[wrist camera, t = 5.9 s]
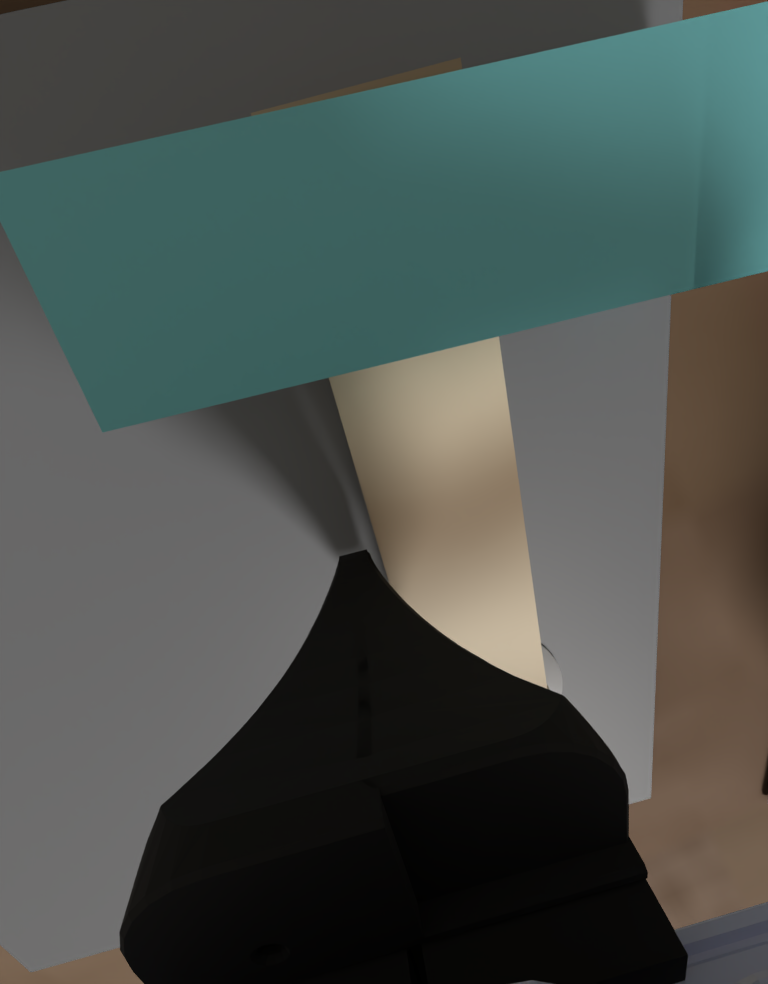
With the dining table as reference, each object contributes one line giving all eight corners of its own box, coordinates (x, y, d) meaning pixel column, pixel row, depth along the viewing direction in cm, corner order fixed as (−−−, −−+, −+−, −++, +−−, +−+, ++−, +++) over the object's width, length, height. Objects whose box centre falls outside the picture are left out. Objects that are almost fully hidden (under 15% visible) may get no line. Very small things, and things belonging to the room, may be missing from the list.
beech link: (551, 733, 16) (597, 820, 13) (424, 771, 16) (445, 866, 13) (463, 100, 9) (527, 23, 6) (227, 163, 8) (191, 112, 6)
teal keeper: (623, 114, 10) (870, -22, 6) (623, 267, 11) (824, 256, 7) (133, 226, 10) (-23, 175, 5) (189, 372, 11) (101, 432, 6)
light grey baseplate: (650, -89, 9) (692, -135, 8) (634, 773, 19) (652, 800, 18) (-707, 201, 8) (-854, 189, 7) (44, 938, 18) (29, 975, 17)
